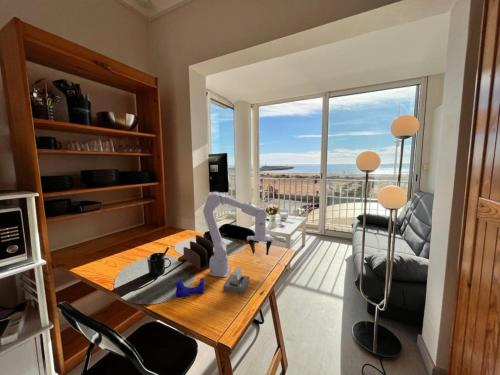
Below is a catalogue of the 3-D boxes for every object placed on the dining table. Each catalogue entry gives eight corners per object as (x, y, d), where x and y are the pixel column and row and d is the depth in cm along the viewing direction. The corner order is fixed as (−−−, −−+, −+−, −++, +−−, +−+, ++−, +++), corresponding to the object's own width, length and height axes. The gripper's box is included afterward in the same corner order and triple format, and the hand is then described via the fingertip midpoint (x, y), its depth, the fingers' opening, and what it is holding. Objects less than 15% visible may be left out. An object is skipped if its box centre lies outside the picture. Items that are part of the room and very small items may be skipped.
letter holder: (197, 253, 136) (196, 233, 134) (215, 264, 122) (214, 241, 120) (183, 258, 129) (182, 237, 127) (199, 270, 115) (198, 246, 113)
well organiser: (223, 290, 97) (223, 285, 97) (231, 278, 107) (230, 274, 107) (243, 293, 95) (243, 288, 94) (249, 281, 104) (249, 276, 104)
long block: (231, 288, 98) (231, 274, 97) (235, 280, 104) (235, 267, 103) (237, 289, 97) (237, 275, 96) (241, 281, 103) (241, 268, 102)
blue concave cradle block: (176, 297, 93) (175, 285, 92) (178, 291, 98) (177, 279, 97) (203, 296, 94) (202, 283, 93) (204, 289, 98) (203, 278, 98)
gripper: (245, 231, 110) (245, 255, 112) (272, 233, 106) (272, 258, 108) (248, 227, 117) (249, 249, 118) (274, 229, 113) (274, 252, 115)
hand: (260, 253), depth 114 cm, fingers open, 7 cm apart
